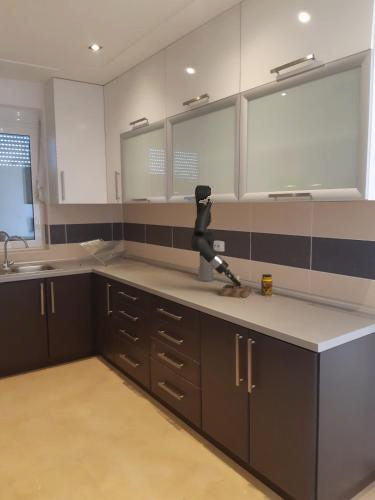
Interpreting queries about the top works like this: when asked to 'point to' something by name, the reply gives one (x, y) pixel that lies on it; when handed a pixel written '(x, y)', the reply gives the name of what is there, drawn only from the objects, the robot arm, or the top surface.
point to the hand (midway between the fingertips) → (239, 284)
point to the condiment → (266, 285)
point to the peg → (237, 279)
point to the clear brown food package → (236, 291)
